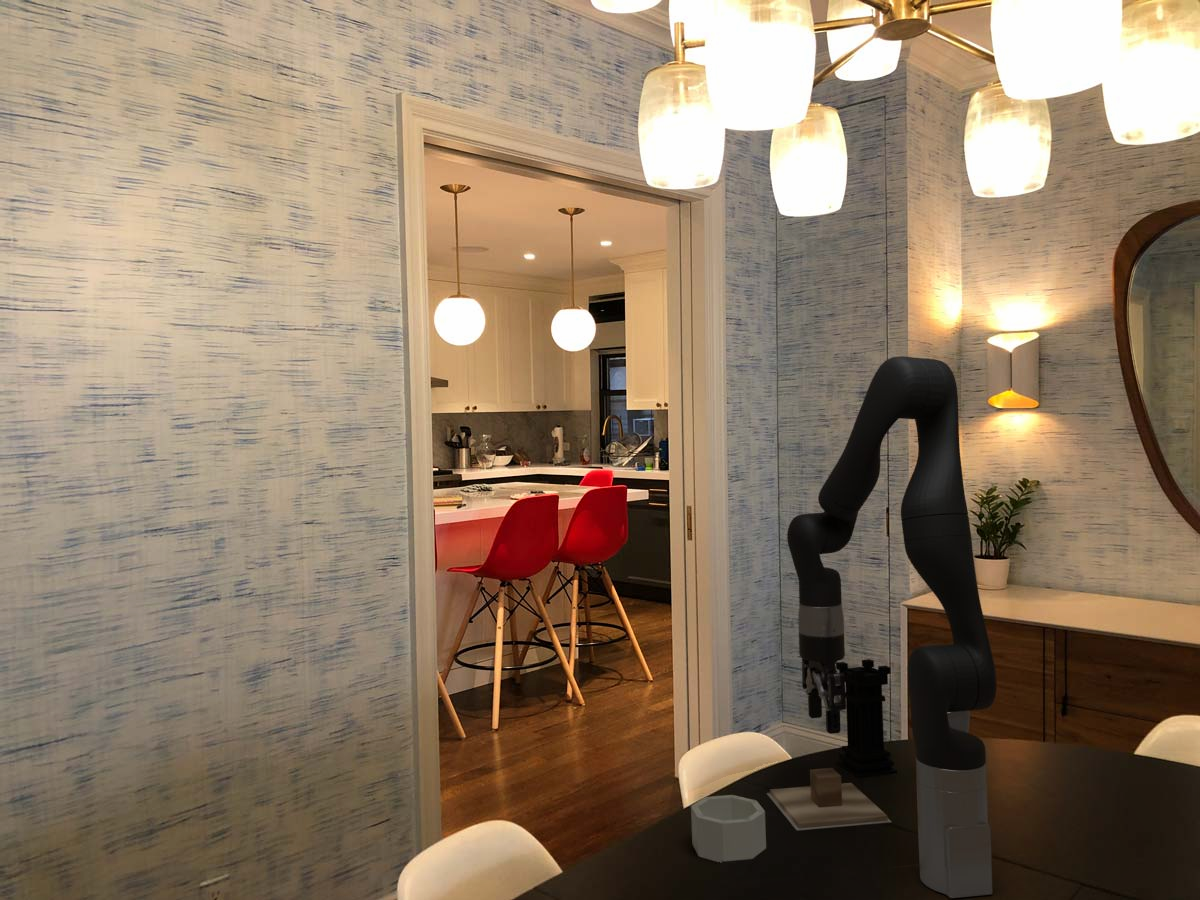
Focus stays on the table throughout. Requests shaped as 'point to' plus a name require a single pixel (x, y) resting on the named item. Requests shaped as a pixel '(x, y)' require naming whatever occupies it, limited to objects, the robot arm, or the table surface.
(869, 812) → the lid
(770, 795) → the mat
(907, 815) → the table surface
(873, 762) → the chess piece
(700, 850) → the bowl
